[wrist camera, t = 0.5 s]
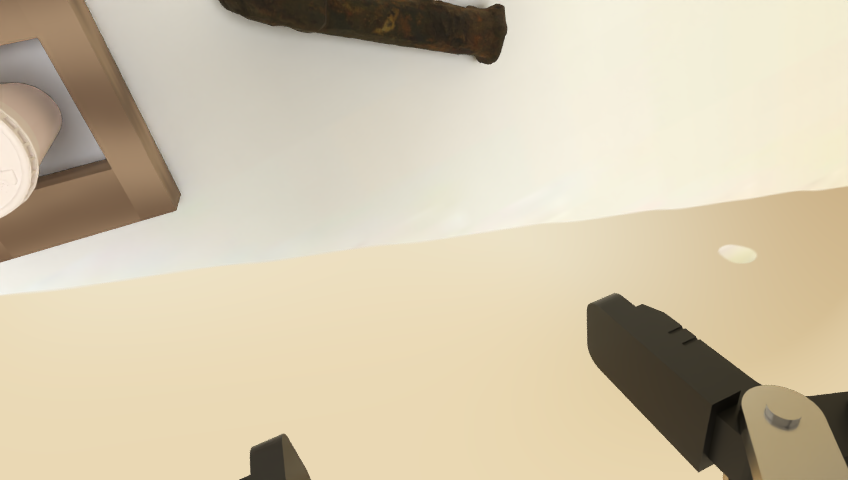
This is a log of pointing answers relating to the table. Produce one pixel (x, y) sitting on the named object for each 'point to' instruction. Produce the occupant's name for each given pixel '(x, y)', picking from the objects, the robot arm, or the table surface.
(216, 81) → the table surface
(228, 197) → the table surface
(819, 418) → the robot arm
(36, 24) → the wooden tray
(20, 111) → the smoothie
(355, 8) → the hand tool
